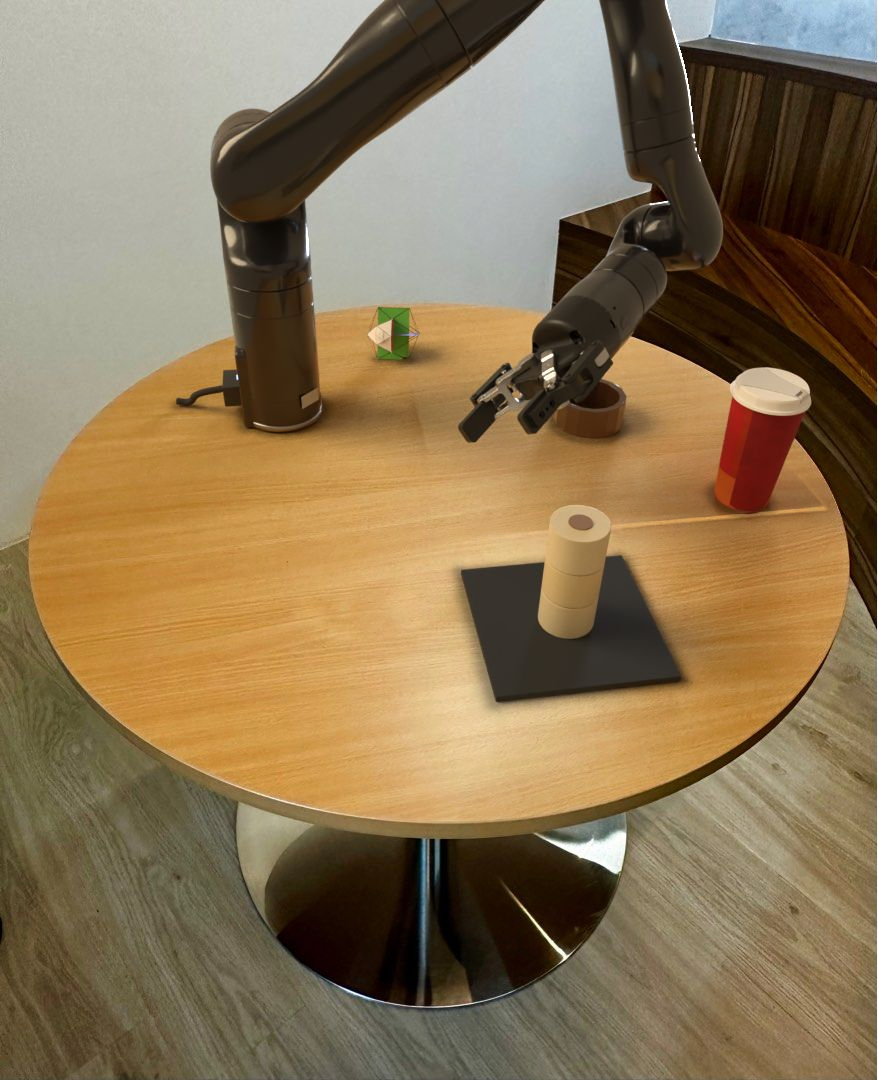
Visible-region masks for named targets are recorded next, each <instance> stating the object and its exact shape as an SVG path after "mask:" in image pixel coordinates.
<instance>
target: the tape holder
mask: <svg viewBox="0 0 878 1080" xmlns="http://www.w3.org/2000/svg"><path fill="white" fill-rule="evenodd" d="M582 385H583V384H582ZM627 397H628V396H627V393H626V392H625V391H624V389H623V388H622V387H621V386H619V385H618V384H616V383H614V382H613V381H609V380H607V379H604V378H601V380H600V381H599V382H598V383H597V385H596V386H595V387H594V389H593V390H592V391H591V392H590V394H589V395H588V396H587V397H586V398H585V399H584V400H583V401H581V402H575V400H574V399H571V400H569V404H568V405H567V406H566V407H564V408H562V409H557V410H556V411H555V413H554V414H553V415H552V420H553V423H554V424H555V426H556V427H557V428H558V429H559V430H561V431H562V432H564V433H566V434H568V435H571V436H574V437H578V438H583V439H603V438H607V437H610V436H613V435H615V434H616V433H618V432H619V431H620V430H621V429H622V426H623V420H624V415H625V408H626V402H627Z"/></svg>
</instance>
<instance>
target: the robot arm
mask: <svg viewBox="0 0 878 1080" xmlns="http://www.w3.org/2000/svg"><path fill="white" fill-rule="evenodd" d="M545 1H546V0H383V1H382V2H381V3H380V4H379V5H378V6H376V7H375V9H373V10H372V12H370V14H368V15H367V17H366V18H365V19H364V20H363V21H362V22H361V23H360V24H359V26H357V28H356V29H355V30H354V31H353V33H352V34H351V35H350V37H349V38H348V39H347V40H346V41H345V42H344V43H343V45H342V46H341V48H340V49H339V50H338V51H337V53H336V54H335V55H334V56H333V58H332V59H331V60H330V62H329V63H328V64H327V66H325V68H323V70H322V71H321V72H320V73H319V74H318V76H316V78H315V79H313V80H312V81H311V82H310V83H309V84H308V85H306V86H305V87H304V88H303V89H302V90H301V91H299V92H298V93H297V94H295V95H294V96H292V97H291V98H290V99H288V100H287V101H286V102H284V103H282V104H281V105H279V106H277V108H275V109H274V110H273V111H268V110H265V109H261V108H245V109H240V110H237V111H235V112H234V113H231V114H230V115H229V116H227V117H226V118H225V119H224V120H223V121H222V122H221V123H220V124H219V125H218V128H217V129H216V131H215V133H214V136H213V138H212V141H211V145H210V162H209V173H210V181H211V187H212V191H213V194H214V195H215V198H216V204H217V210H218V220H219V226H220V227H219V229H220V239H221V250H222V260H223V266H224V273H225V274H224V275H225V280H226V281H225V282H226V287H227V288H226V289H227V294H228V295H227V296H228V302H229V303H228V304H229V310H230V316H231V325H232V332H233V339H234V360H235V369H223V370H222V384H221V385H215V386H210V387H205V388H201V389H198V390H196V391H193V392H192V393H191V395H190V396H189V397H188V398H184V397H183V398H182V397H176V399H175V403H176V405H177V406H184V407H185V406H193V405H195V403H196V402H197V400H198V399H199V398H202V397H205V396H210V395H215V394H221V393H222V396H223V401H224V403H223V404H224V408H225V407H241V411H242V418H243V419H242V420H243V426H244V428H256V429H258V430H261V431H266V432H272V433H287V432H293V431H298V430H301V429H304V428H307V427H309V426H311V425H313V424H314V423H316V422H317V421H318V420H319V419H320V418H321V416H322V414H323V402H322V393H321V382H320V369H319V356H318V354H319V353H318V343H317V342H318V340H317V339H318V338H317V328H316V327H317V326H316V314H315V301H314V300H315V299H314V290H313V289H314V288H313V286H314V285H313V277H312V276H313V272H312V271H313V270H312V258H311V257H312V255H311V246H310V245H311V244H310V237H309V227H308V218H307V217H308V216H307V207H306V206H307V205H306V200H307V199H308V198H309V197H310V196H311V195H312V194H313V193H314V192H315V191H316V190H318V188H319V187H320V186H322V184H323V183H325V181H327V180H328V178H330V177H331V176H332V175H333V174H334V173H335V172H336V171H337V170H338V169H339V168H341V166H342V165H343V164H344V163H346V162H347V161H348V160H350V158H351V157H353V155H355V154H356V153H357V152H358V151H359V150H361V149H362V148H363V147H364V146H366V145H368V144H370V142H372V141H373V140H375V139H376V138H377V137H379V136H381V135H382V134H384V133H385V132H387V131H388V130H389V129H391V128H393V127H394V126H395V125H397V124H398V123H399V122H402V120H403V119H405V118H406V117H408V116H409V115H410V114H412V113H413V112H414V111H416V110H417V109H418V108H420V107H421V106H422V105H424V104H425V103H427V102H428V101H430V100H431V99H432V98H434V97H435V96H437V95H438V94H439V93H441V92H442V91H444V90H445V89H446V88H448V87H449V86H451V85H452V84H453V83H455V82H456V81H457V80H459V78H461V77H462V76H464V75H465V74H466V73H468V72H469V71H470V70H471V69H472V68H474V67H476V65H478V64H479V63H480V62H482V60H484V59H485V58H486V57H487V56H488V55H490V54H491V52H493V51H494V50H495V49H496V48H497V47H498V46H500V45H501V44H502V43H503V42H505V40H506V39H507V38H508V37H510V36H511V35H512V34H513V33H514V32H515V31H516V30H517V29H518V28H519V27H520V26H521V25H522V24H523V23H524V22H525V21H526V20H527V19H528V18H529V17H530V16H531V15H532V14H533V13H534V12H535V11H536V10H537V9H539V7H540V6H541V5H542V4H543V3H544V2H545ZM598 3H599V5H600V6H599V7H600V11H601V16H602V21H603V25H604V31H605V36H606V41H607V47H608V55H609V59H610V68H611V74H612V81H613V82H612V83H613V89H614V90H613V91H614V96H615V97H614V98H615V104H616V111H617V112H616V113H617V118H618V119H617V120H618V124H619V125H618V127H619V132H620V139H621V145H622V151H623V158H624V164H625V169H626V170H625V171H626V172H627V175H628V177H629V178H630V179H631V180H633V181H635V182H638V183H646V184H651V185H655V186H657V187H658V188H660V190H661V191H662V193H663V195H664V197H665V198H666V199H667V201H661V202H654V203H648V204H647V203H646V204H643V205H640V206H638V207H636V208H635V209H633V210H632V211H630V212H629V213H628V214H626V216H625V217H624V218H623V219H622V220H621V222H620V224H619V226H618V228H617V231H616V232H615V235H614V237H613V239H612V241H611V243H610V246H609V248H608V251H607V253H606V255H605V257H604V258H602V260H601V261H600V262H598V264H596V266H595V267H594V268H593V269H592V270H591V272H590V273H589V274H587V275H586V276H585V277H584V278H583V279H581V280H579V282H577V283H576V284H575V285H574V286H573V287H572V288H570V289H569V290H568V291H567V293H566V294H565V295H564V296H563V297H562V298H561V299H560V300H559V301H557V303H556V304H555V306H553V307H552V309H551V310H550V311H548V312H547V314H546V315H545V316H544V317H543V318H542V319H541V320H540V321H539V322H538V324H536V325H535V327H534V329H533V331H532V335H531V349H532V350H531V353H529V354H527V355H526V356H524V357H522V358H521V359H520V360H519V361H518V363H517V365H515V366H514V367H512V364H511V363H510V362H505V363H503V364H502V365H501V366H500V367H499V368H498V369H497V370H496V371H494V373H492V375H491V376H490V377H488V379H486V381H484V383H483V384H482V385H481V386H480V387H479V388H478V389H477V390H476V391H475V392H474V393H472V394H471V395H470V397H469V400H470V402H471V403H472V405H473V409H471V411H470V412H469V413H468V414H467V415H466V416H465V417H464V418H463V419H462V420H461V422H459V424H458V427H457V428H458V432H459V433H460V434H461V435H462V437H463V439H464V441H466V443H468V444H472V443H477V442H478V441H479V439H481V437H482V436H483V435H484V434H485V433H486V432H487V430H489V428H491V426H492V425H493V424H494V423H495V422H496V420H498V419H499V418H500V417H502V416H503V415H504V414H506V413H508V412H510V411H513V412H518V411H519V410H520V411H519V412H518V413H517V416H516V417H517V418H516V419H517V421H518V424H519V425H520V426H521V428H522V429H523V431H524V432H525V433H526V434H527V435H529V436H530V435H536V434H537V433H538V432H539V431H540V430H541V429H542V427H544V426H545V424H546V423H547V422H548V421H549V420H550V418H552V417H553V414H554V413H555V411H556V410H557V409H562V408H564V407H566V406H567V405H568V404H569V400H571V399H574V400H575V402H581V401H583V400H584V399H585V398H586V397H587V396H588V395H589V394H590V392H591V391H592V390H593V389H594V387H595V386H596V385H597V383H598V382H599V381H600V380H601V379H603V377H604V376H605V375H606V373H607V372H608V371H609V370H610V369H611V368H612V366H613V365H614V361H613V360H612V359H613V358H614V357H615V356H616V355H617V353H618V352H619V351H620V350H621V349H622V348H623V347H624V345H626V343H627V342H628V340H629V339H630V338H631V337H632V336H633V334H634V332H635V330H636V329H637V327H638V326H639V324H640V323H641V322H642V321H643V320H644V319H645V317H646V316H647V315H648V314H649V313H650V311H651V310H652V309H653V308H655V305H656V304H657V303H658V302H659V300H660V299H661V298H662V296H663V294H664V292H665V290H666V287H667V283H668V274H667V272H678V271H679V272H680V271H695V270H699V269H704V268H706V267H707V266H709V265H710V264H712V262H714V260H715V259H716V257H717V256H718V254H719V252H720V249H721V247H722V244H723V237H724V223H723V219H722V214H721V210H720V206H719V205H718V201H717V200H716V197H715V194H714V192H713V190H712V187H711V185H710V183H709V180H708V177H707V175H706V172H705V169H704V167H703V164H702V161H701V159H700V157H699V154H698V151H697V147H696V140H695V139H696V138H695V130H694V121H693V112H692V106H691V95H690V89H689V84H688V78H687V73H686V69H685V64H684V60H683V57H682V53H681V50H680V47H679V44H678V39H677V37H676V33H675V29H674V28H673V27H674V26H673V24H672V21H671V17H670V13H669V9H668V4H667V0H598ZM582 384H583V385H582ZM515 392H518V393H519V395H520V396H521V397H519V398H517V397H515V396H514V395H513V393H515Z"/></svg>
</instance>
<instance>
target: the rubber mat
mask: <svg viewBox="0 0 878 1080" xmlns="http://www.w3.org/2000/svg"><path fill="white" fill-rule="evenodd" d="M544 564H545V561H542V562H541V561H540V562H532V563H521V564H520V563H519V564H510V565H499V566H498V565H497V566H488V567H487V566H485V567H476V568H466V569H461V570H460V575H461V579H462V583H463V587H464V590H465V594H466V597H467V601H468V605H469V609H470V612H471V616H472V620H473V624H474V627H475V630H476V631H475V632H476V635H477V638H478V642H479V646H480V649H481V653H482V657H483V660H484V664H485V667H486V671H487V675H488V678H489V679H488V680H489V683H490V686H491V690H492V693H493V697H494V701H495V702H504V701H514V700H515V701H516V700H524V699H531V698H532V699H533V698H540V697H548V696H559V695H565V694H566V695H568V694H576V693H585V692H586V693H587V692H593V691H601V690H602V691H603V690H610V689H620V688H629V687H630V688H631V687H638V686H647V685H655V684H666V683H673V682H681V680H682V678H683V676H682V674H681V672H680V670H679V668H678V666H677V664H676V661H675V660H674V658H673V655H672V654H671V651H670V649H669V648H668V646H667V643H666V642H665V640H664V638H663V636H662V633H661V632H660V629H659V628H658V626H657V624H656V622H655V620H654V617H653V615H652V613H651V612H650V610H649V608H648V605H647V604H646V601H645V599H644V597H643V596H642V593H641V592H640V589H639V588H638V585H637V584H636V581H635V579H634V577H633V576H632V572H630V569H629V567H628V565H627V563H626V562H625V560H624V557H623V555H622V554H620V555H619V554H618V555H617V554H616V555H606V559H605V565H604V570H603V575H602V581H601V586H600V592H599V597H598V603H597V608H596V614H595V619H594V624H593V627H592V629H591V630H590V632H589V633H587V634H586V635H584V636H582V637H579V638H574V639H565V638H559V637H556V636H553V635H551V634H550V633H548V632H547V631H545V630H544V629H543V628H542V626H541V625H540V623H539V620H538V611H539V603H540V595H541V587H542V579H543V571H544Z"/></svg>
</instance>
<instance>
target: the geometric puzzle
mask: <svg viewBox="0 0 878 1080" xmlns="http://www.w3.org/2000/svg"><path fill="white" fill-rule="evenodd" d="M374 313H375V314H374V315H373V319H372V321H371V324H370V325H369V327H368V328H369V330H368V331H367V332H366V333H365V335H366V336H367V338H368V341H369V343H370V344H372V346H373V348H372V350H373V351H374V353H375V356H376V360H397V361H398V360H401V361H403V360H404V359H405V360H406V359H407V358H411V354H412V353H413V351H414V348H415V346H416V343H417V341H418V338H419V336H420V333H421V332H420V331H419V328H418V327H417V326H416V325H417V323H416V322H415V318H414V316H413V313H412V311H411V307H394V306H393V307H389V306H377V308H376V311H375V312H374ZM376 315H377V325H375V326H374V327H373V325H374V321H375V318H376ZM410 315H411V318H412V321H413V325H414V327H413V326H410ZM410 328H411V329H413V330H414V331H415V332H414V331H412V330H410ZM370 340H371V341H370ZM413 340H415V341H414V345H413V347H412V349H411V352H410V342H411V341H413ZM371 342H372V343H371ZM375 346H377V351H376V347H375Z"/></svg>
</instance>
